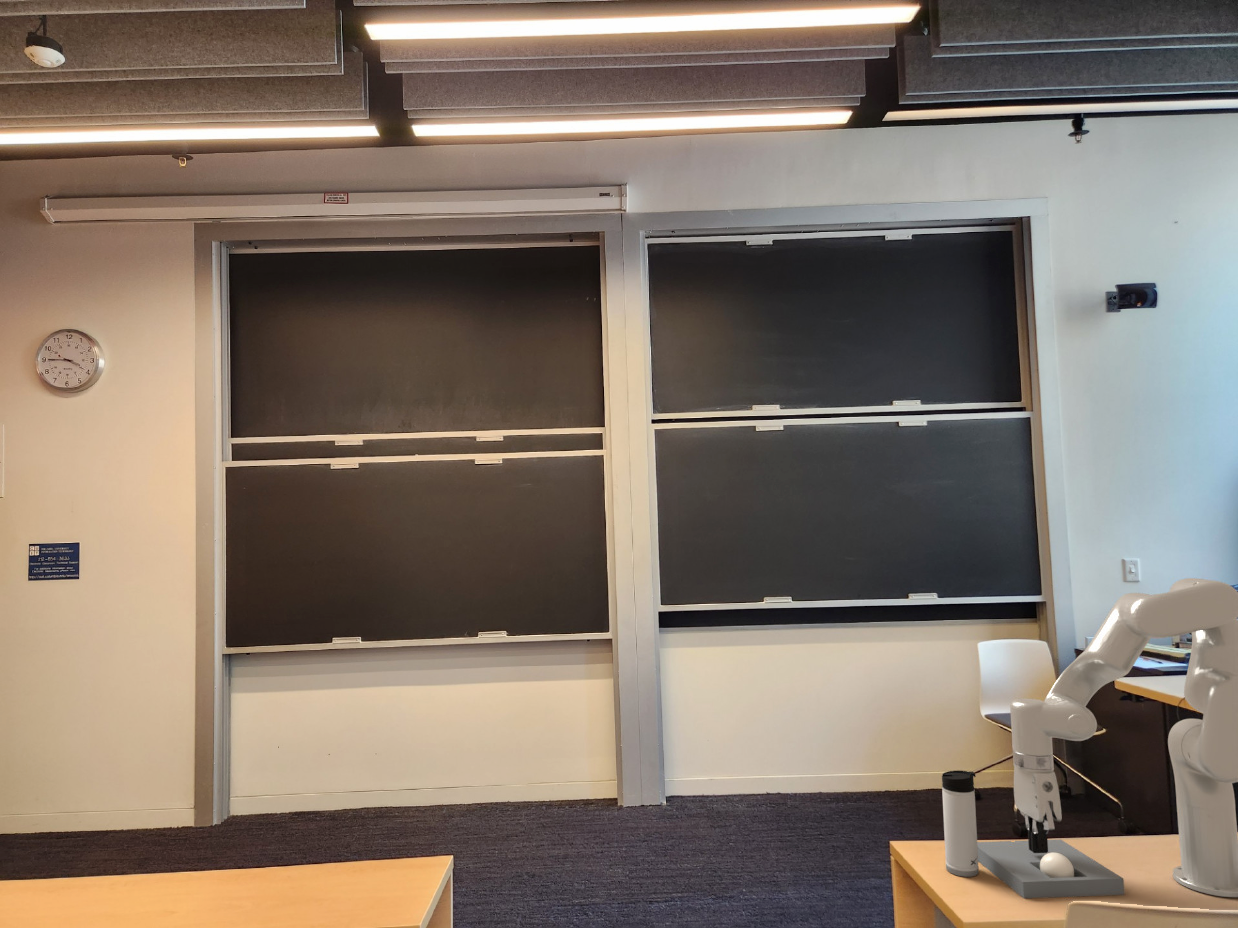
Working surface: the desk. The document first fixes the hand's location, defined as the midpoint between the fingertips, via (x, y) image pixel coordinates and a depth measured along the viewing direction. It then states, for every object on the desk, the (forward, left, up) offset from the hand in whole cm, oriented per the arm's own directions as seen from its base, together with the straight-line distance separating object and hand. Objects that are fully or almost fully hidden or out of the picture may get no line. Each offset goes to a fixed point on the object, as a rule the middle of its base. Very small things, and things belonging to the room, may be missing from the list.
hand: (1038, 851), depth 164 cm
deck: (0, +2, -4) cm, 4 cm away
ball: (0, +6, -1) cm, 6 cm away
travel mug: (+16, -1, -4) cm, 16 cm away
